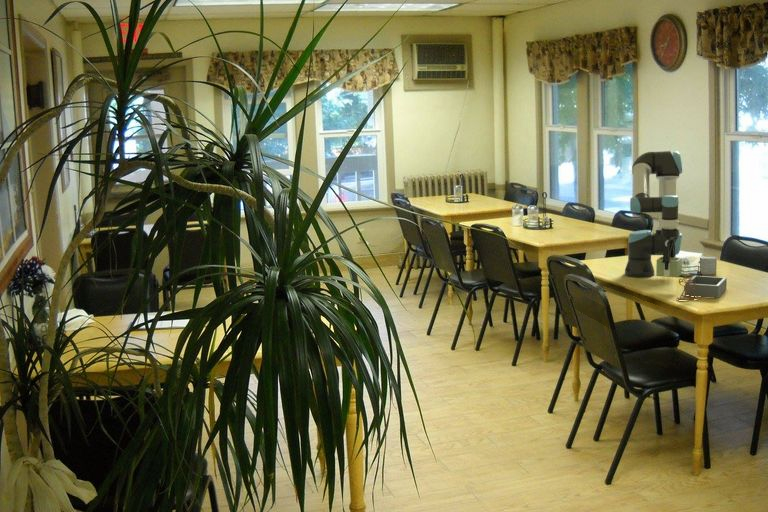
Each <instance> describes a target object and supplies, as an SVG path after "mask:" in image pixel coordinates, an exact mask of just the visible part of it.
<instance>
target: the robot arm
mask: <svg viewBox="0 0 768 512" xmlns="http://www.w3.org/2000/svg"><path fill="white" fill-rule="evenodd" d="M682 163H683V162H682V156H681V154H680V152H679V151H671V150H666V151H647V152H644V153H642V154H641V155H639V156H638V157H637V158H636V159H635V161H634V162H633V163H632V168H631V172H632V173H631V174H632V175H633V196H632V197H630V200H629V202H630V204H629V205H630V207H629V211H630V212H631V213H635V214H636V213H638V214H639V213H641V214H643V213H644V214H645V213H658V226H657V228H656V229H655V232H652V230H651V229H643V230H642V229H641V230H636V231H631V232H630V233H629V235H628V240H627V243H628V244H627V246H628V247H627V249H628V250H627V252H628V253H627V257H628V258H627V263H626V266H625V269H624V275H625V276H628V277H632V278H649V277H653V276H655V268H654V266H653V262H652V256H662V257H663V261H662V263H664V276H670V263H669V262H670V257H677V255H678V254H680V251H681V247H682V246H681V244H682V237H683V233H682V232H680V229H679V228H678V226H679V224H680V221H679V203H680V202H679V196H678V195H677V180H678V179H679V178H680V175H681V174H682V173H683V165H682ZM651 175H655V178H656V179H657V181H658V196H657V197H656V196H651V195H650V194H651V193H650V192H651V188H650V176H651ZM664 276H663V277H664Z"/></svg>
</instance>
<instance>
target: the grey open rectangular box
mask: <svg viewBox="0 0 768 512" xmlns="http://www.w3.org/2000/svg"><path fill="white" fill-rule="evenodd" d="M691 277H692V279H691V278H690V279H691V282H689V284H688V289H690V285H692V286H693V285H695V284H696V288H695V287H693V288H695V289H693V288H692V286H691V291H692V293H693V295H694V296H701V297H700V298H703V297H714V298H713V299H716V298H718V297H719V296H720V297H721V296H722V295H723V294H724V293H725V292H726V291H727V284H728V283H727V278H728V277H726V276H725V277H724V276H723V277H721V276H707V275H693V276H691ZM688 280H689V279H688ZM689 281H690V280H689ZM693 282H694V283H695V284H694V283H693ZM684 285H685V289H687V284H685V283H684ZM725 290H726V291H725ZM691 291H690V290H685V291H684V295H685V294H686V292H688V293H689V295H692V293H691ZM723 292H724V293H723ZM688 293H687V295H688ZM722 293H723V294H722ZM693 295H692V296H693ZM720 297H719V298H720ZM719 298H718V299H719Z"/></svg>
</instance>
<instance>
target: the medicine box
mask: <svg viewBox="0 0 768 512" xmlns="http://www.w3.org/2000/svg"><path fill="white" fill-rule="evenodd" d="M699 258H700V261H699V260H698V264H699V263H700V267H701V274H703V275H702V276H707V275H717V261H718V260H717V258H716V257H715V256H705V257H703V256H700V257H699ZM701 274H700V275H701Z"/></svg>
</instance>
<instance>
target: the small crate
mask: <svg viewBox="0 0 768 512" xmlns="http://www.w3.org/2000/svg"><path fill="white" fill-rule="evenodd" d="M662 261H663V256H659V257H658V258H657V259H656V268H655V270H656V273H655V274H656V277H664V278H665V277H667V278H679V277H680V276H681V275H682V272H683V271H682V265H683V264H682V262H683V257H677V256H675V257H670V262H669V263H670V276H664V263H662Z"/></svg>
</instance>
